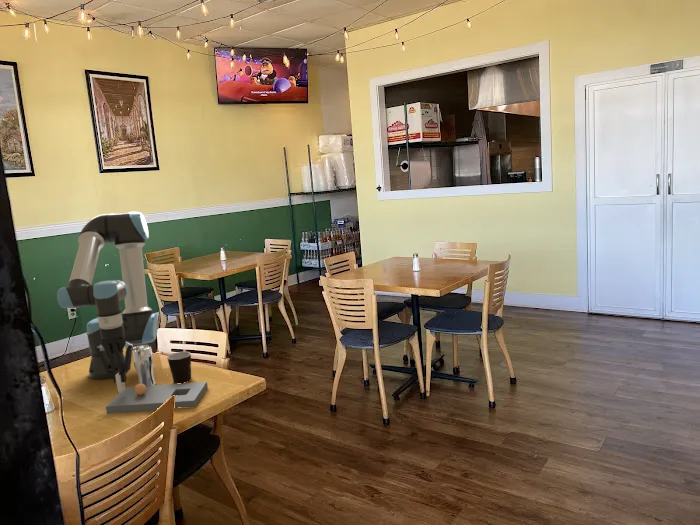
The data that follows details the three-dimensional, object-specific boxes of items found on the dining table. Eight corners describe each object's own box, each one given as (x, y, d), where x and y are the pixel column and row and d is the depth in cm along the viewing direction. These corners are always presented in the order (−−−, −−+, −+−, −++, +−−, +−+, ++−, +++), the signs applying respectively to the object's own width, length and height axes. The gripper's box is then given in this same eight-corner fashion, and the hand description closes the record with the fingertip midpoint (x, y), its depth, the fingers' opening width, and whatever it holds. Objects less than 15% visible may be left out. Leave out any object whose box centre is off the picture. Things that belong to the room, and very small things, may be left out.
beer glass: (160, 382, 208) (155, 345, 206) (147, 389, 202) (141, 351, 199) (147, 380, 211) (141, 343, 209) (133, 388, 205) (127, 349, 202)
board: (106, 413, 184) (105, 406, 184) (126, 393, 200) (125, 387, 200) (194, 407, 183) (194, 400, 183) (207, 388, 199) (206, 381, 199)
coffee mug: (187, 385, 204) (183, 359, 202) (166, 384, 206) (162, 359, 204) (201, 373, 215) (198, 348, 213) (181, 372, 217) (178, 348, 215)
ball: (137, 392, 193) (136, 382, 193) (149, 392, 193) (147, 381, 193) (133, 397, 190) (131, 386, 189) (144, 396, 189) (143, 386, 189)
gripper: (87, 330, 183) (98, 396, 188) (125, 328, 183) (135, 394, 187) (97, 324, 191) (108, 387, 195) (134, 321, 190) (144, 385, 195)
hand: (121, 390), depth 191 cm, fingers closed
